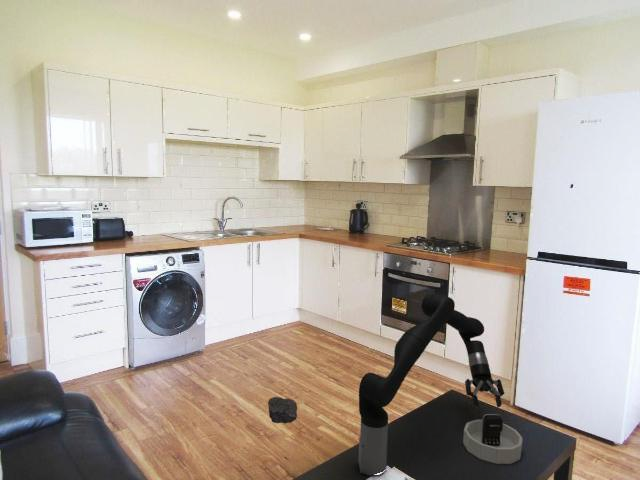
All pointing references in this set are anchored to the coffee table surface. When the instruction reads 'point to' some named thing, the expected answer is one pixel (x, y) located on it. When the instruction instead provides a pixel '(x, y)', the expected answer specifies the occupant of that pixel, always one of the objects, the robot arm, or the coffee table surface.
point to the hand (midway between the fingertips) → (488, 406)
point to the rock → (282, 410)
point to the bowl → (496, 454)
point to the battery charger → (491, 429)
